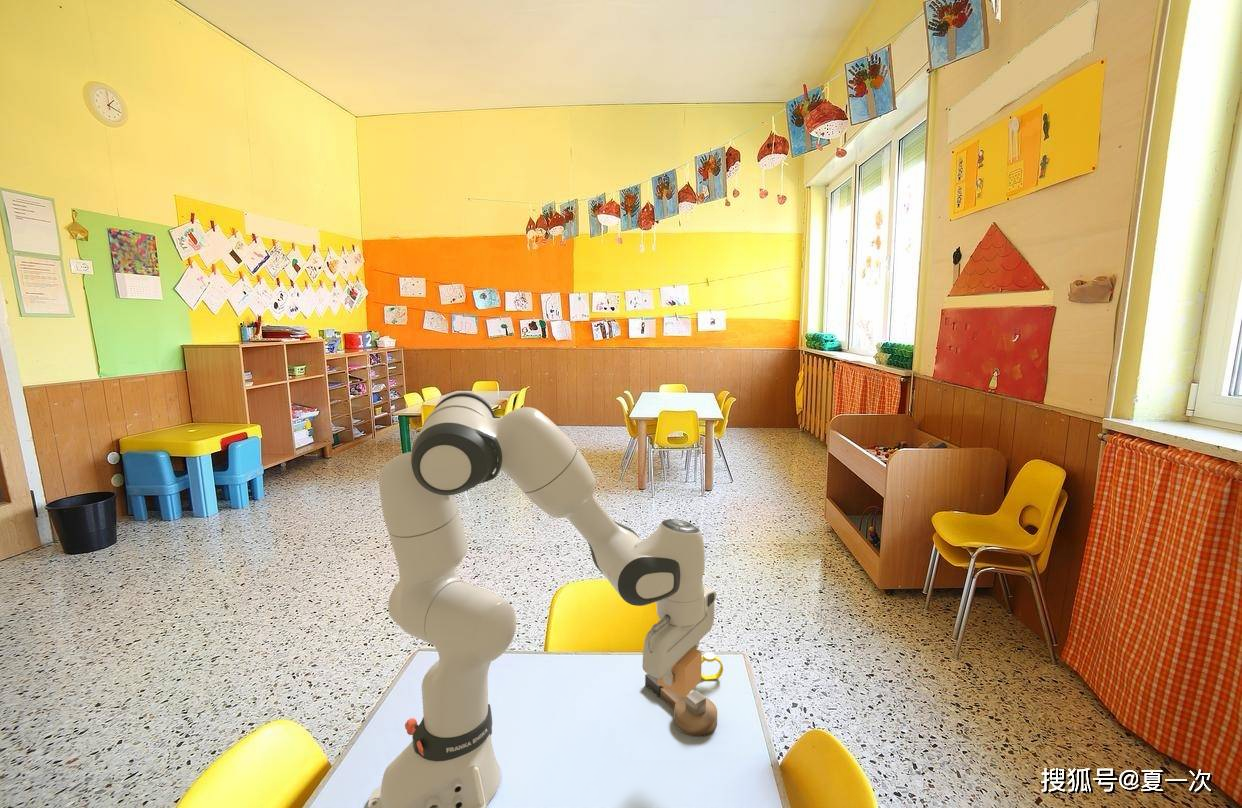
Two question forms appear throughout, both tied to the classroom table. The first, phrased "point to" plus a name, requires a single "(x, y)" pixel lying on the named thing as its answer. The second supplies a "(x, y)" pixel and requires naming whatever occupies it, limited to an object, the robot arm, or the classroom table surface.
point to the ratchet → (687, 709)
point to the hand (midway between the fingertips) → (679, 672)
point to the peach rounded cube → (685, 673)
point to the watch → (710, 658)
